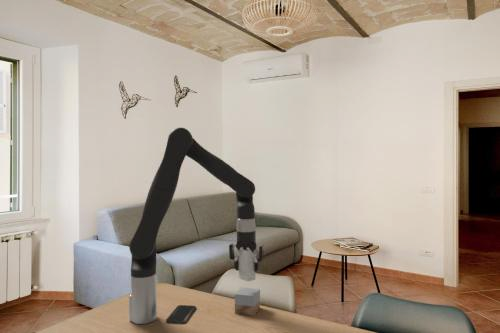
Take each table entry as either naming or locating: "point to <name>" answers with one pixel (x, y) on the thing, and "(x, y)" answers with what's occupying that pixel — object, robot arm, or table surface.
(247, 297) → the tower top
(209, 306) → the table surface
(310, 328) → the table surface
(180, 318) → the phone
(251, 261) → the skincare box
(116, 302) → the table surface
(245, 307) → the tower bottom
